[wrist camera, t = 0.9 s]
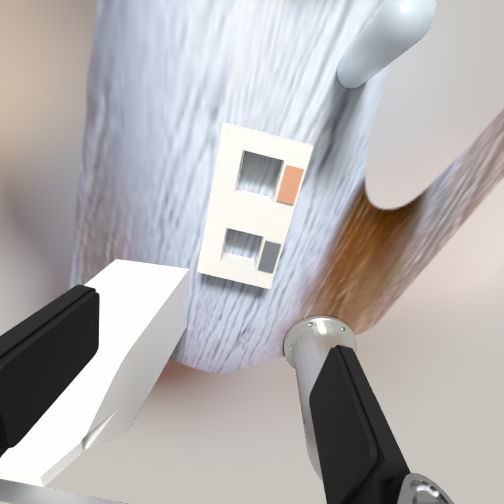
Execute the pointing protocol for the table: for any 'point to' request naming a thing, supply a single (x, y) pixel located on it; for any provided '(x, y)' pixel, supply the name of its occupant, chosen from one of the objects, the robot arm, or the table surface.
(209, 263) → the socket block
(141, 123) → the table surface
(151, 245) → the table surface
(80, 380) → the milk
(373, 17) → the plug
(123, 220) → the table surface
